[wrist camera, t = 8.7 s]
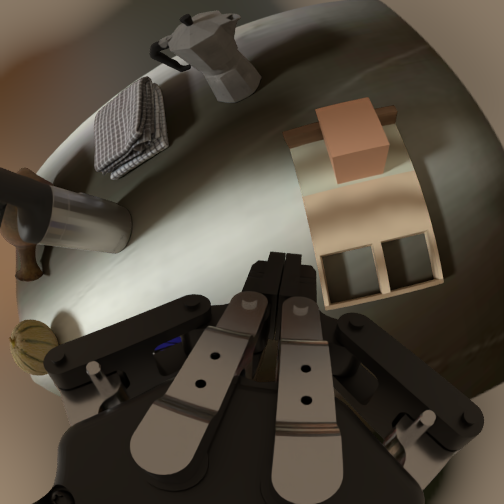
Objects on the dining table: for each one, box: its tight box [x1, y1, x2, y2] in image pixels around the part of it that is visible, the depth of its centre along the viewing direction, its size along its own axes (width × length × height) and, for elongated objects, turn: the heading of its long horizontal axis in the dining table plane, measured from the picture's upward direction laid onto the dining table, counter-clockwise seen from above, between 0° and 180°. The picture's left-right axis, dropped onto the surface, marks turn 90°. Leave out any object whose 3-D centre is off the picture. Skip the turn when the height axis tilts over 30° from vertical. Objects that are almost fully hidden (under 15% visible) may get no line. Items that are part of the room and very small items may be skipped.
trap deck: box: [282, 105, 444, 310], centre depth 30 cm, size 22×15×6 cm
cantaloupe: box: [9, 320, 59, 375], centre depth 48 cm, size 15×15×15 cm
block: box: [315, 97, 390, 184], centre depth 27 cm, size 6×6×8 cm
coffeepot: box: [150, 10, 262, 103], centre depth 33 cm, size 15×9×18 cm, turn 89°
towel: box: [94, 76, 169, 180], centre depth 45 cm, size 15×18×8 cm
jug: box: [0, 168, 53, 282], centre depth 51 cm, size 20×20×30 cm
